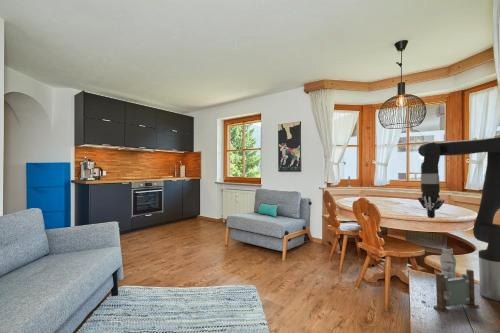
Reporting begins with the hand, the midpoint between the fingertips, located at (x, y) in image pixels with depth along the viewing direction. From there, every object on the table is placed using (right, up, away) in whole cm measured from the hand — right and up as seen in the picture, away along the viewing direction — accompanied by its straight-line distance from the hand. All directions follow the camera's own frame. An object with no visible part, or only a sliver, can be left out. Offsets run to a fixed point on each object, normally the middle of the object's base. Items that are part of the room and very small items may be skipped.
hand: (431, 217), depth 124 cm
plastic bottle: (+8, -35, -1) cm, 36 cm away
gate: (-2, -33, -18) cm, 38 cm away
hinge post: (+6, -35, -16) cm, 39 cm away
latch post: (-10, -35, -19) cm, 41 cm away
